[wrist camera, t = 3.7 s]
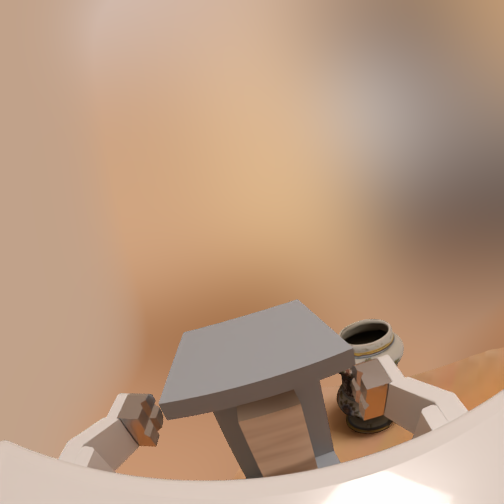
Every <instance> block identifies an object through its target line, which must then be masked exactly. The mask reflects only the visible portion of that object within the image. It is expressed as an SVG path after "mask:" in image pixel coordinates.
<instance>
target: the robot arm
mask: <svg viewBox="0 0 504 504" xmlns="http://www.w3.org/2000/svg"><path fill="white" fill-rule="evenodd" d="M352 374H353V376H354V378H353V379H352V393H353V396H354V399H355V401H356V402H357V403H359V411H360V413H361V415H362V417H363V420H368V419H371V418H375V417H378V416H381V415H384V416H385V417H387V418H388V419H390V420H392V421H393V422H395V423H397V424H398V425H400V426H401V427H403V428H405V429H406V430H408V431H410V432H411V433H413V434H414V435H413V438H412V439H411V440H409V441H407V442H404V443H402V444H399V445H396V446H394V447H391V448H388V449H386V450H383V451H380V452H377V453H374V454H371V455H368V456H364V457H361V458H358V459H354V460H351V461H347V462H343V463H340V464H336V465H332V466H327V467H323V468H318V469H314V470H309V471H304V472H298V473H292V474H286V475H279V476H271V477H263V478H252V479H239V480H215V481H195V480H193V481H192V480H171V479H158V478H148V477H139V476H132V475H125V474H119V473H116V472H115V470H116V469H117V468H118V467H119V466H120V465H121V464H122V463H123V462H124V461H125V460H126V459H127V458H128V457H129V456H130V455H131V454H132V453H133V452H134V451H135V450H136V449H137V448H138V447H139V446H157V442H158V439H159V433H158V432H157V431H158V430H159V429H160V428H162V425H163V415H162V411H161V410H160V408H159V407H158V406H156V405H155V404H154V403H155V399H154V397H153V395H151V394H125V393H120V394H119V395H118V396H117V398H116V400H115V401H114V404H113V405H112V407H111V410H110V411H109V414H108V415H107V417H106V418H102V419H101V420H99V421H98V422H96V423H95V424H93V425H92V426H91V427H89V428H88V429H86V430H85V431H83V432H82V433H80V434H79V435H77V436H76V437H74V438H72V439H71V440H69V441H68V442H67V444H66V446H65V448H64V450H63V452H62V453H61V455H60V457H59V459H56V458H53V457H50V456H46V455H43V454H41V453H38V452H35V451H32V450H30V449H27V448H24V447H22V446H19V445H17V444H15V443H13V442H10V441H7V440H4V441H1V442H0V504H504V389H503V390H502V391H500V392H499V393H497V394H496V395H494V396H493V397H491V398H490V399H488V400H487V401H485V402H483V403H482V404H480V405H479V406H477V407H475V408H474V409H472V410H470V411H468V410H467V409H466V408H465V406H464V405H463V404H462V402H461V401H460V400H459V399H458V397H457V396H456V395H455V394H454V393H452V392H449V391H446V390H443V389H440V388H438V387H435V386H432V385H429V384H427V383H424V382H421V381H418V380H416V379H413V378H410V377H406V378H405V377H404V376H403V374H402V373H401V371H400V370H399V369H398V367H397V366H396V364H395V363H394V362H393V360H392V359H391V357H390V356H389V355H384V356H381V357H378V358H376V359H372V360H368V361H365V362H362V363H358V364H354V365H352Z"/></svg>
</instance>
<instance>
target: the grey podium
mask: <svg viewBox="0 0 504 504" xmlns="http://www.w3.org/2000/svg"><path fill="white" fill-rule="evenodd" d="M354 364H356V363H355V356H354V350H353V347H351V346H350V345H349V344H348V343H347V342H346V341H345V340H343V339H342V338H341V337H340V336H339V335H338V334H337V333H335V332H334V331H333V330H332V329H331V328H330V327H329V326H327V325H326V324H325V323H324V322H323V321H322V320H321V319H320V318H318V317H317V316H316V315H315V314H314V313H313V312H311V311H310V310H309V309H308V308H307V307H306V306H305V305H304V304H302V303H301V302H300V301H299V300H294V301H291V302H288V303H285V304H282V305H278V306H275V307H272V308H269V309H266V310H262V311H259V312H256V313H252V314H249V315H246V316H242V317H239V318H235V319H232V320H228V321H225V322H221V323H218V324H214V325H210V326H207V327H203V328H199V329H195V330H192V331H188V332H184V333H183V336H182V339H181V342H180V344H179V347H178V350H177V352H176V355H175V358H174V361H173V364H172V366H171V369H170V372H169V375H168V378H167V381H166V384H165V387H164V389H163V392H162V396H161V398H160V401H159V406H160V408H161V410H162V412H163V413H164V415H165V417H166V419H167V420H171V419H177V418H183V417H189V416H194V415H199V414H204V413H209V412H213V413H214V415H215V417H216V419H217V421H218V423H219V425H220V428H221V430H222V432H223V434H224V436H225V438H226V440H227V442H228V444H229V446H230V448H231V450H232V452H233V454H234V456H235V457H236V460H237V461H238V463H239V465H240V467H241V469H242V471H243V473H244V474H245V476H246V479H252V478H263V475H262V473H261V471H260V469H259V467H258V465H257V462H256V460H255V458H254V456H253V454H252V452H251V450H250V447H249V445H248V443H247V441H246V439H245V436H244V434H243V432H242V430H241V427H240V425H239V423H238V416H237V406H239V405H243V404H246V403H250V402H254V401H257V400H261V399H264V398H268V397H271V396H274V395H278V394H281V393H284V392H287V391H290V390H293V389H294V391H295V393H296V395H297V397H298V399H299V401H300V403H301V407H302V410H303V414H304V418H305V422H306V425H307V429H308V433H309V437H310V440H311V444H312V448H313V452H314V456H315V459H316V463H317V467H318V468H323V467H327V466H332V465H336V464H340V461H339V459H338V457H337V456H336V454H335V452H334V449H333V443H332V438H331V433H330V428H329V423H328V418H327V413H326V408H325V404H324V399H323V394H322V390H321V385H320V380H321V379H324V378H327V377H329V376H332V375H334V374H337V373H339V372H342V371H344V370H347V369H349V368H352V365H354Z"/></svg>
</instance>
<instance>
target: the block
mask: <svg viewBox="0 0 504 504" xmlns="http://www.w3.org/2000/svg"><path fill="white" fill-rule="evenodd" d="M237 416H238V423H239V425H240V427H241V430H242V432H243V434H244V436H245V439H246V441H247V443H248V445H249V447H250V450H251V452H252V454H253V456H254V458H255V460H256V462H257V465H258V467H259V469H260V471H261V473H262V475H263V477H271V476H279V475H286V474H292V473H298V472H304V471H309V470H314V469H318V467H317V463H316V459H315V456H314V452H313V448H312V444H311V440H310V437H309V433H308V429H307V425H306V422H305V418H304V414H303V410H302V407H301V403H300V401H299V399H298V397H297V395H296V393H295V391H294V389H293V390H290V391H287V392H284V393H281V394H278V395H274V396H271V397H268V398H264V399H261V400H257V401H254V402H250V403H246V404H243V405H239V406H237Z"/></svg>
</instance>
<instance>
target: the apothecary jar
mask: <svg viewBox="0 0 504 504" xmlns="http://www.w3.org/2000/svg"><path fill="white" fill-rule="evenodd" d="M339 336H340V337H341V338H342V339H343V340H345V341H346V342H347V343H348V344H349V345H350V346H351V347H353V350H354V356H355V363H356V364H358V363H362V362H365V361H368V360H372V359H376V358H378V357H381V356H384V355H389V356H390V357H391V359H392V360H393V362H394V363H395V364H396V366H397V364H398V362H399V361H400V359H401V357H402V355H403V350H404V347H403V343H402V340H401V339H400V337H399V336H398V335H397V334H395V333H393V332H392V328H391V325H390V324H389V323H388V322H386V321H384V320H378V319H367V320H362V321H359V322H355V323H352V324H350V325H348V326H347V327H345V328H344V329H343V330H341V332H340V333H339ZM339 374H341V376H342V385H341V386H340V388H339V390H338V393H337V402H338V405H339V407H340V409H341V410H342V411H343V412H344V413H345V414H347V417H346V421H347V424H348V426H349V427H350V428H351V429H353V430H355V431H357V432H361V433H375V432H379V431H382V430H384V429H386V428H388V427H389V425H390V424H391V422H392V420H390V419H388V418H387V417H385V416H384V415H381V416H378V417H375V418H371V419H368V420H363V417H362V415H361V413H360V411H359V403H357V402H356V401H355V399H354V396H353V393H352V379H353V378H354V376H353V374H352V368H349V369H347V370H344V371H342V372H339Z"/></svg>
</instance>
